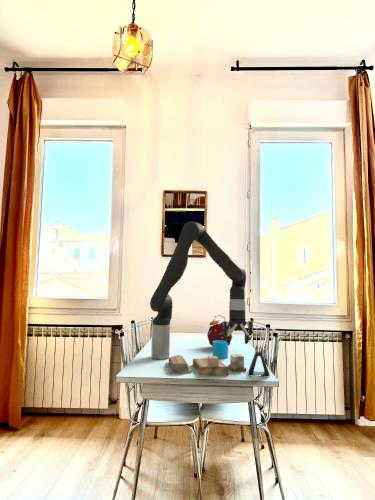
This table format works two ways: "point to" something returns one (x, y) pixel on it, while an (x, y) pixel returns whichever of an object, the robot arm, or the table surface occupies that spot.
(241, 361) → the tan block
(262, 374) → the dark a-shaped stand
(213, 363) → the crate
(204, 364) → the dock
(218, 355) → the mug
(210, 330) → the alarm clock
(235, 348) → the table surface
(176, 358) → the packaged product
